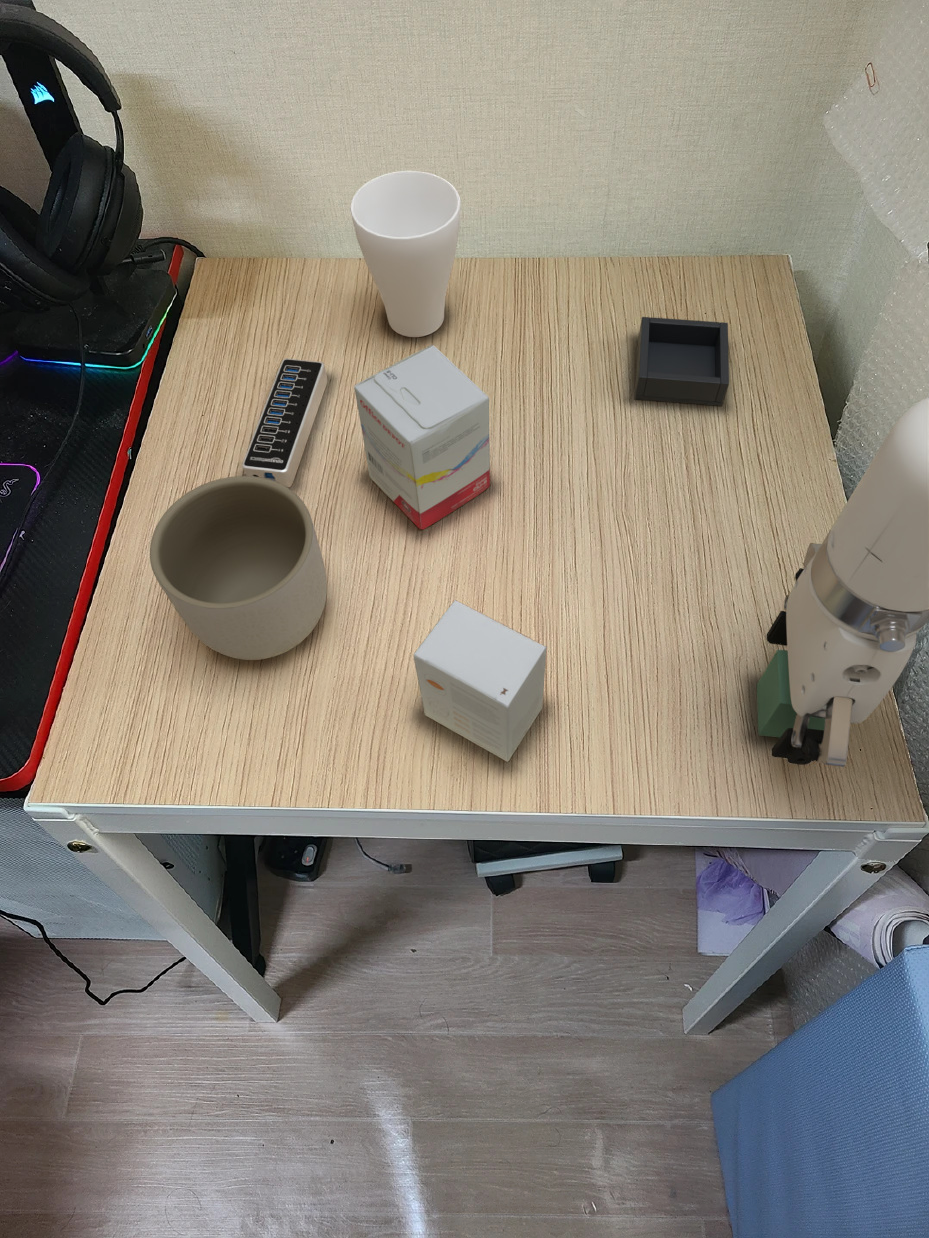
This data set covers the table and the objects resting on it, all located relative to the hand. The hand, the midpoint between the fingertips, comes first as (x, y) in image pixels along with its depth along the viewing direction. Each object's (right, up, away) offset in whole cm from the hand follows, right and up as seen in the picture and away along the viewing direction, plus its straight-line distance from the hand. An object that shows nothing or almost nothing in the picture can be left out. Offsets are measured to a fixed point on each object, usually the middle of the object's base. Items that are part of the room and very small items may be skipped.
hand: (788, 696), depth 67 cm
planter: (-42, +6, +9) cm, 44 cm away
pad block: (+1, -1, +2) cm, 3 cm away
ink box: (-28, +19, +16) cm, 37 cm away
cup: (-30, +38, +27) cm, 56 cm away
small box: (-24, -2, +3) cm, 24 cm away
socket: (-3, +31, +22) cm, 38 cm away
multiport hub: (-42, +25, +19) cm, 53 cm away
